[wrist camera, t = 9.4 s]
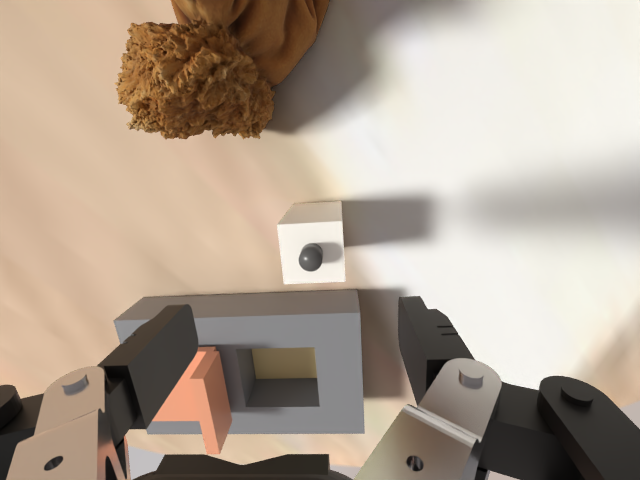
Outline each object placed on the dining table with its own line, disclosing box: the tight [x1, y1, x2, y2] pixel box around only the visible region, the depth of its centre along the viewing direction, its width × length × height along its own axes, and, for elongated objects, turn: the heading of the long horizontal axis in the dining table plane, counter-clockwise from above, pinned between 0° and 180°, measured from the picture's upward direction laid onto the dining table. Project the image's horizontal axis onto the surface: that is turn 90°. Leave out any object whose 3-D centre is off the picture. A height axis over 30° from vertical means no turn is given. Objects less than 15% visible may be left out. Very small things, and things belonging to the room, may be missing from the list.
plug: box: [277, 201, 345, 284], centre depth 22 cm, size 4×4×8 cm
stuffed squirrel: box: [114, 0, 330, 139], centre depth 16 cm, size 10×14×13 cm
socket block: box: [114, 289, 365, 434], centre depth 28 cm, size 20×12×4 cm, turn 94°
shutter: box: [152, 347, 232, 454], centre depth 25 cm, size 8×7×4 cm
